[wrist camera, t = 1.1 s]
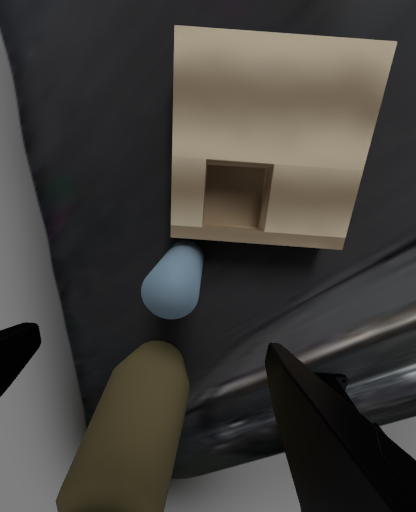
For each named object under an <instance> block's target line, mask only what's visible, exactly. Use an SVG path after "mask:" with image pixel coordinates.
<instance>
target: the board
mask: <svg viewBox="0 0 416 512" xmlns="http://www.w3.org/2000/svg"><path fill="white" fill-rule="evenodd" d="M396 45H397V41H383V40H370V39H356V38H342V37H329V36H315V35H301V34H288V33H274V32H260V31H247V30H233V29H219V28H206V27H192V26H178V25H175V26H174V81H173V135H172V190H171V237H172V238H186V239H200V240H213V241H227V242H241V243H255V244H268V245H282V246H296V247H310V248H323V249H337V250H342V249H343V245H344V241H345V237H346V234H347V230H348V226H349V222H350V219H351V215H352V211H353V207H354V203H355V200H356V196H357V192H358V188H359V185H360V181H361V177H362V173H363V169H364V166H365V162H366V158H367V154H368V151H369V147H370V143H371V139H372V136H373V132H374V128H375V124H376V120H377V117H378V113H379V109H380V105H381V102H382V98H383V94H384V90H385V86H386V83H387V79H388V75H389V71H390V68H391V64H392V60H393V56H394V52H395V49H396Z"/></svg>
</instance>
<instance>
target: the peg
mask: <svg viewBox="0 0 416 512" xmlns="http://www.w3.org/2000/svg"><path fill="white" fill-rule="evenodd" d="M203 261H204V254H203V251H202V249H201V247H200V246H199V245H198V244H197V243H195V242H193V241H190V240H181V241H178V242H176V243H175V244H174V245H173V246H172V247H171V248H170V249H169V251H168V252H167V253H166V254H165V255H164V257H163V258H162V259H161V260H160V261H159V262H158V264H157V265H156V266H155V267H154V268H153V270H152V271H151V272H150V273H149V274H148V276H147V277H146V278H145V280H144V282H143V284H142V288H141V295H142V299H143V302H144V304H145V305H146V307H147V308H148V309H149V310H150V311H151V312H152V313H153V314H155V315H157V316H159V317H161V318H165V319H179V318H182V317H184V316H186V315H188V314H189V313H191V312H192V311H193V309H194V308H195V306H196V304H197V302H198V297H199V290H200V283H201V276H202V268H203Z"/></svg>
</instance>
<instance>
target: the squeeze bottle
mask: <svg viewBox="0 0 416 512" xmlns="http://www.w3.org/2000/svg"><path fill="white" fill-rule="evenodd" d="M188 399H189V381H188V377H187V373H186V369H185V364H184V360H183V357H182V355H181V353H180V351H179V350H178V349H176V348H175V347H174V346H173V345H172V344H169V343H167V342H164V341H149V342H146V343H143V344H142V345H141V346H139V347H138V348H137V349H136V350H135V351H134V352H133V353H131V354H130V355H129V356H128V357H127V358H126V359H125V360H123V361H122V362H121V363H120V364H119V365H118V366H117V367H115V368H114V370H113V372H112V374H111V376H110V379H109V381H108V383H107V385H106V388H105V390H104V392H103V394H102V397H101V399H100V401H99V403H98V406H97V408H96V410H95V412H94V415H93V417H92V419H91V421H90V424H89V426H88V428H87V430H86V433H85V435H84V437H83V440H82V442H81V444H80V446H79V449H78V451H77V453H76V456H75V457H74V460H73V462H72V464H71V466H70V469H69V471H68V473H67V475H66V478H65V480H64V482H63V485H62V487H61V489H60V491H59V494H58V497H57V499H56V504H57V509H58V512H163V511H164V507H165V503H166V498H167V493H168V489H169V485H170V480H171V476H172V471H173V467H174V462H175V458H176V453H177V449H178V444H179V440H180V435H181V431H182V426H183V422H184V417H185V413H186V408H187V404H188Z"/></svg>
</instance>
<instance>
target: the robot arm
mask: <svg viewBox="0 0 416 512" xmlns="http://www.w3.org/2000/svg"><path fill="white" fill-rule="evenodd" d="M40 344H41V337H40V331H39V326H38V325H37V324H36V323H27V322H26V323H21V324H18V325H15V326H12V327H10V328H6V329H4V330H1V331H0V397H1V396H2V394H3V393H4V392H5V391H6V390H7V389H8V387H9V386H10V385H11V384H12V382H13V381H14V379H16V377H17V376H18V374H19V373H20V372H21V371H22V369H23V368H24V367H25V365H26V364H27V363H28V362H29V360H30V359H31V358H32V356H33V355H34V354H35V352H36V351H37V350H38V348H39V347H40ZM265 367H266V372H267V378H268V384H269V389H270V395H271V400H272V405H273V410H274V414H275V418H276V421H277V425H278V428H279V432H280V436H281V439H282V443H283V446H284V450H285V453H286V457H287V460H288V464H289V467H290V471H291V474H292V478H293V481H294V485H295V488H296V492H297V495H298V499H299V503H300V507H301V512H416V460H415V459H413V458H412V457H411V456H410V455H409V454H408V453H406V452H405V451H404V450H403V449H401V448H400V447H399V446H398V445H397V444H396V443H394V442H393V441H392V440H391V439H390V438H389V437H388V436H387V435H386V434H385V433H384V432H383V431H382V429H381V428H380V427H379V426H378V424H377V423H374V424H372V423H371V422H370V421H369V420H368V419H367V418H365V417H364V416H363V415H362V414H361V413H360V412H359V411H358V409H357V408H356V406H355V405H354V403H353V402H352V400H351V399H350V397H349V396H348V395H347V393H346V392H345V389H346V386H347V384H348V378H347V377H346V376H345V375H342V374H328V373H314V372H312V371H311V370H310V369H309V368H308V367H306V366H305V365H304V364H303V363H302V362H301V361H300V360H298V359H297V358H296V357H295V356H294V355H293V354H291V353H290V352H289V351H288V350H287V349H286V348H285V347H283V346H282V345H281V344H278V343H270V344H269V345H268V349H267V354H266V359H265Z"/></svg>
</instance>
